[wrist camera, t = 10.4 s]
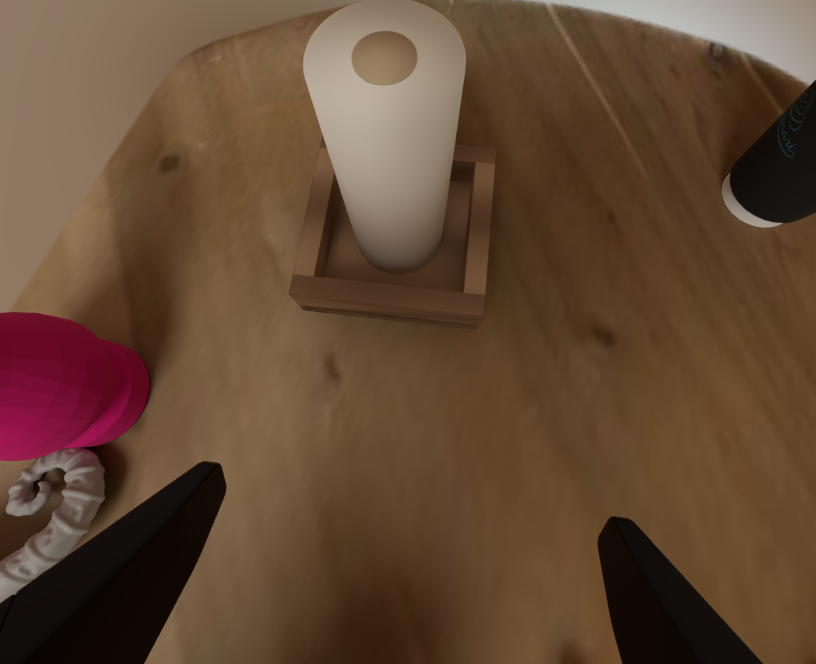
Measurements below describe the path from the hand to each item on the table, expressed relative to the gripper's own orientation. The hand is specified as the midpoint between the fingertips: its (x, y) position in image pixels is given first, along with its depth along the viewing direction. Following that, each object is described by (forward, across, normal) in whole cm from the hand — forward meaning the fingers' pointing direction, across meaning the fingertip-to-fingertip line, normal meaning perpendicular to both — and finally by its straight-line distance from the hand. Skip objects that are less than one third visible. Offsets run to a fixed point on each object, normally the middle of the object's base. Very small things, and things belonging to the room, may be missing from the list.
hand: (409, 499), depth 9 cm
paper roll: (+18, +2, -1) cm, 19 cm away
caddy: (+19, +2, 0) cm, 19 cm away
